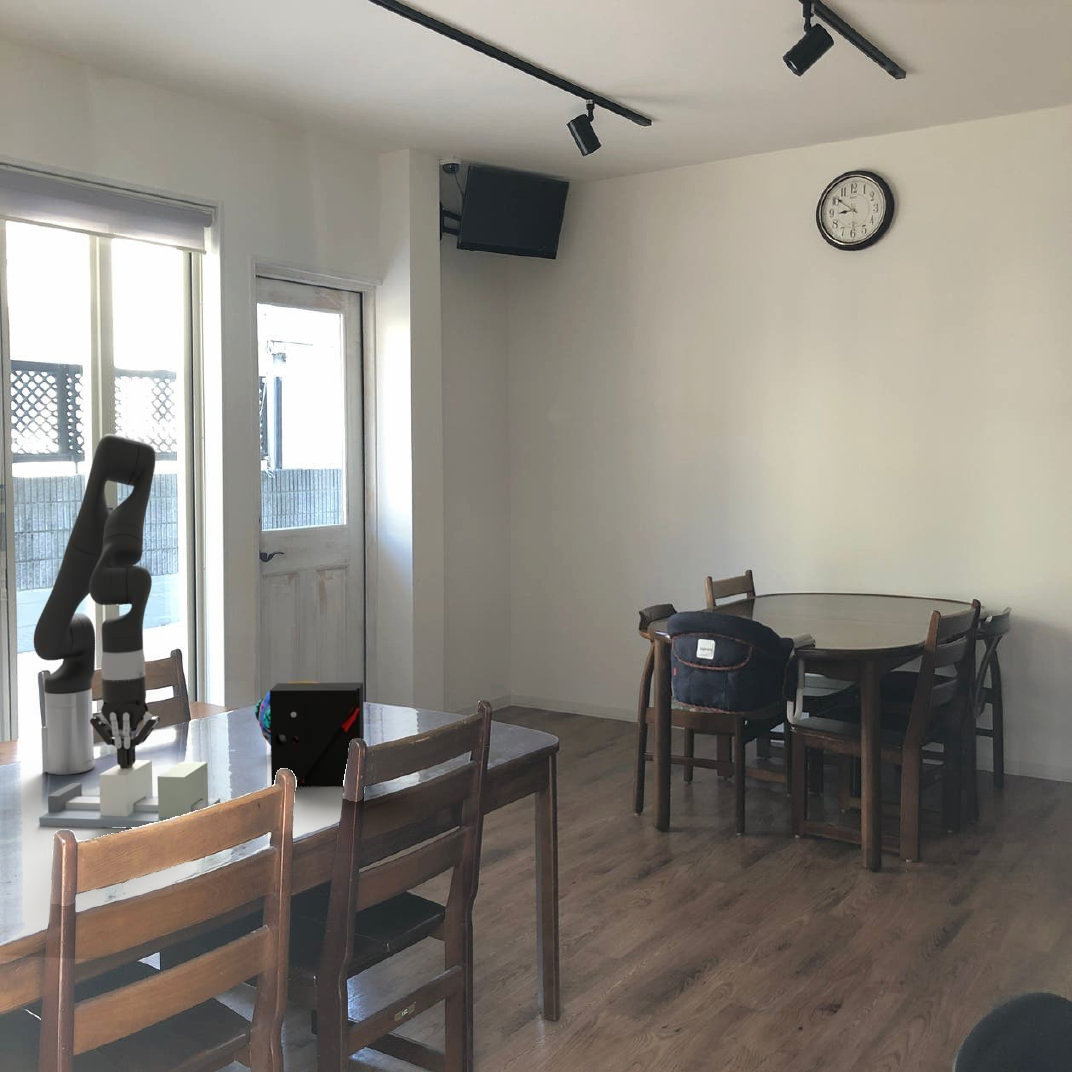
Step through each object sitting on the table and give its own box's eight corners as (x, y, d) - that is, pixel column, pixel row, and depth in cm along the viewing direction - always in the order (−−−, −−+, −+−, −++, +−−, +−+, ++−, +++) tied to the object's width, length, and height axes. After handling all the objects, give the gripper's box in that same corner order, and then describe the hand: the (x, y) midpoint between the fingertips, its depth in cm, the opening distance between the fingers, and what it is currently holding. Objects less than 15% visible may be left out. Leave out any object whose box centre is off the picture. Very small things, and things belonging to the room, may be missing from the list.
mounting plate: (39, 825, 192) (37, 776, 192) (80, 801, 206) (79, 755, 206) (188, 830, 189) (187, 780, 189) (220, 806, 203) (219, 759, 203)
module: (100, 815, 193) (99, 774, 193) (127, 798, 203) (126, 759, 203) (126, 816, 193) (125, 775, 192) (152, 799, 202) (151, 760, 202)
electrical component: (365, 774, 224) (364, 680, 223) (359, 789, 214) (358, 690, 213) (281, 775, 223) (279, 681, 222) (270, 790, 213) (269, 691, 212)
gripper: (167, 671, 199) (169, 762, 200) (100, 670, 201) (102, 761, 202) (148, 678, 192) (151, 774, 193) (78, 677, 193) (81, 772, 194)
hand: (126, 767), depth 197 cm, fingers closed
